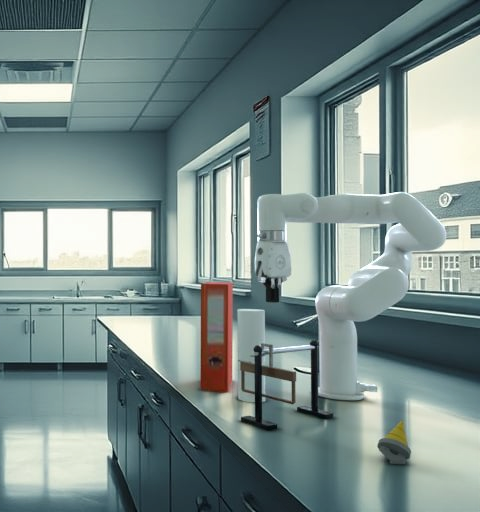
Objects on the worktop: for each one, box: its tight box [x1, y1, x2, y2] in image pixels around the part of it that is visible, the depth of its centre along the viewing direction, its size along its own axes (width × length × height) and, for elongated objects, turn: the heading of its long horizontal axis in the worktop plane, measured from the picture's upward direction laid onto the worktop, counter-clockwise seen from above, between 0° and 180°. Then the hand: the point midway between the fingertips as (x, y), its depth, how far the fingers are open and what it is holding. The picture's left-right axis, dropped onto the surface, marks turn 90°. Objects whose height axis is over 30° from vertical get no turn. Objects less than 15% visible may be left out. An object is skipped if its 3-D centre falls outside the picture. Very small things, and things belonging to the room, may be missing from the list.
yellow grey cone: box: [377, 420, 412, 465], centre depth 106 cm, size 5×5×10 cm
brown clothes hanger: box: [240, 343, 297, 405], centre depth 130 cm, size 1×15×13 cm, turn 27°
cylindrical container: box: [236, 308, 266, 403], centre depth 154 cm, size 7×7×25 cm
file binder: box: [199, 281, 234, 393], centre depth 171 cm, size 8×17×32 cm, turn 156°
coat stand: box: [240, 339, 334, 432], centre depth 133 cm, size 23×8×19 cm, turn 117°
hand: (272, 302), depth 156 cm, fingers closed
